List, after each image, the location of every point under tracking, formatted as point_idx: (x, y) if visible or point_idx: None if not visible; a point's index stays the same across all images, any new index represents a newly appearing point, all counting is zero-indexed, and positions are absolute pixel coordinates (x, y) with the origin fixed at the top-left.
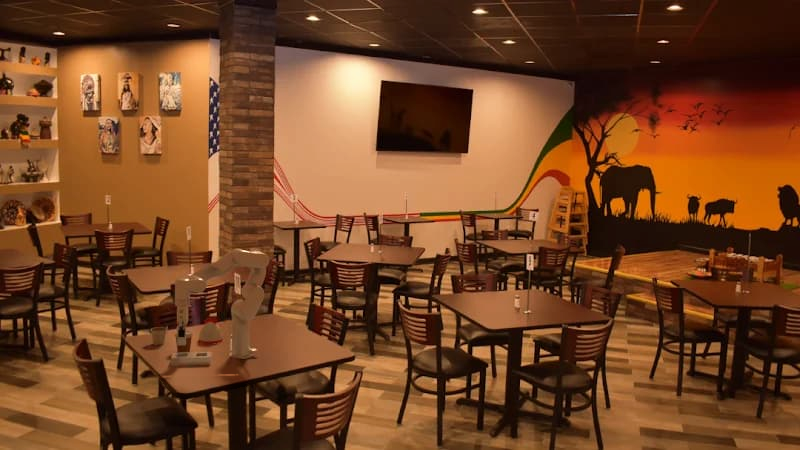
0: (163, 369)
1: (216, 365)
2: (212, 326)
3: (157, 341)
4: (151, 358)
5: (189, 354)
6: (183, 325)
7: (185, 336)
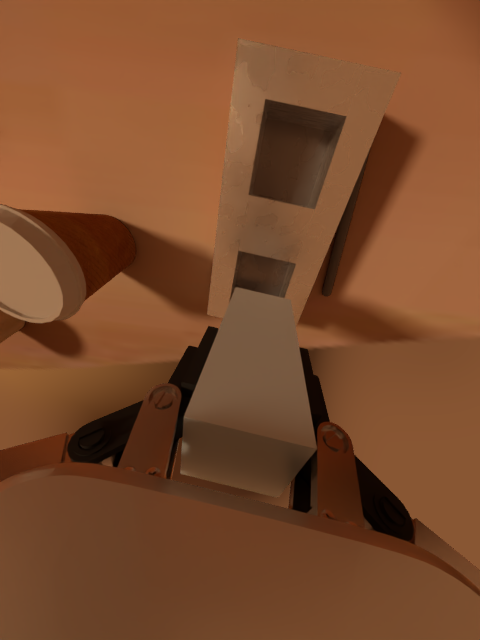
0: (301, 337)
1: (366, 44)
2: None
3: (12, 325)
4: (170, 350)
5: (261, 245)
6: (355, 516)
7: (291, 337)
